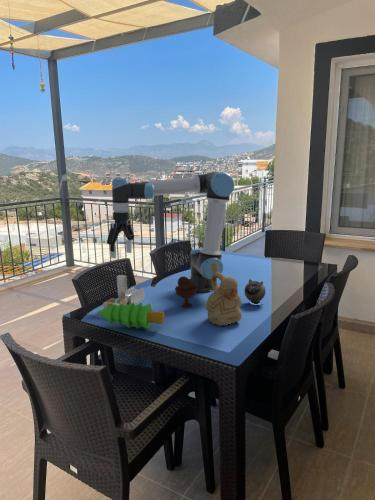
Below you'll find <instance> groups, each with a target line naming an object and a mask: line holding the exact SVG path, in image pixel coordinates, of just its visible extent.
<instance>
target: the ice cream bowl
mask: <svg viewBox="0 0 375 500" xmlns="http://www.w3.org/2000/svg"><path fill="white" fill-rule="evenodd" d="M174 289H175V290H174V291H175V294H177V296H179V297H180V298H182V299H183V300H184V302H183V303H182V304H181V305H180V307H181V308H184V309H189V308H192V307H193V304H192V303H190V302H189V299H191V298H192V297H194V296H195V295H196V293H197V292H196V291H197V286H195V283H194V281H193V280H191V279H190V278H188V277H187V276H185V275H184V276H180V277H179V278H178V279H177V286H175V288H174Z"/></svg>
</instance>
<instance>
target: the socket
mask: <svg viewBox="0 0 375 500" xmlns="http://www.w3.org/2000/svg"><path fill="white" fill-rule="evenodd" d="M114 304H116V306H119V305H121V304H124V306H126V305H127V300H124V299H123V300H122V301H120V302H118V303H117V302H116V298H114V297H111V298H109V299H108V300H105V301H104V302H103V303H102V306H103V307H102V310H103V309H105V308H107V307H109V306H112V305H114Z"/></svg>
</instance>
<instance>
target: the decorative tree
mask: <svg viewBox="0 0 375 500" xmlns="http://www.w3.org/2000/svg"><path fill="white" fill-rule="evenodd" d="M96 314H98V315H100V317H102V318H103V319H105V320H106V321H108V322H109V323H110V324H114V323H115V322H116V323H117V324H118V325H122V324H123V325H124V326H125V327H127V328H128V329H130V328H132V327H133V326H134V327H135V328H136V329H140V328H141V327H143V328H144V329H145V330H149V328H150V327H151V323H153V324H158V325H159V324H160V325H163V324H164V322H165V311H153V308H152V305H151V303H147V304H145V305H143V303H142V302H139V303H138V304H137V305H136V304H134V303H131V304H129V305H126V306H124V304H121V305H119V306H116V304H114V305H112V306H109V307H107V308H105V309H103V308H102V309H100V310H98V311H96ZM132 325H133V326H132ZM131 326H132V327H131Z"/></svg>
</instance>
